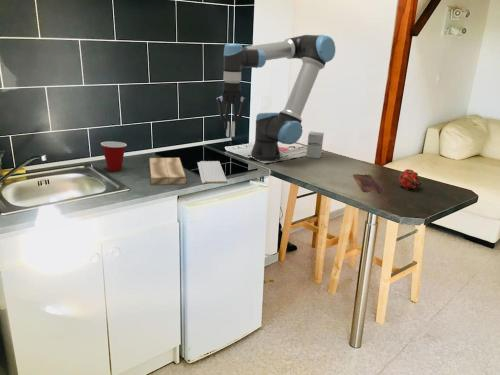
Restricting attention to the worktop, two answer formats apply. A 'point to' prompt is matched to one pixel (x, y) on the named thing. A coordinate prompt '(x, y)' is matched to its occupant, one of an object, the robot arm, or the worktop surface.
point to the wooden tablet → (368, 183)
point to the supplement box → (314, 144)
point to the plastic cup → (114, 154)
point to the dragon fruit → (409, 179)
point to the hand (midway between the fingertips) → (230, 136)
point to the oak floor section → (167, 171)
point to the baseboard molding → (211, 172)
